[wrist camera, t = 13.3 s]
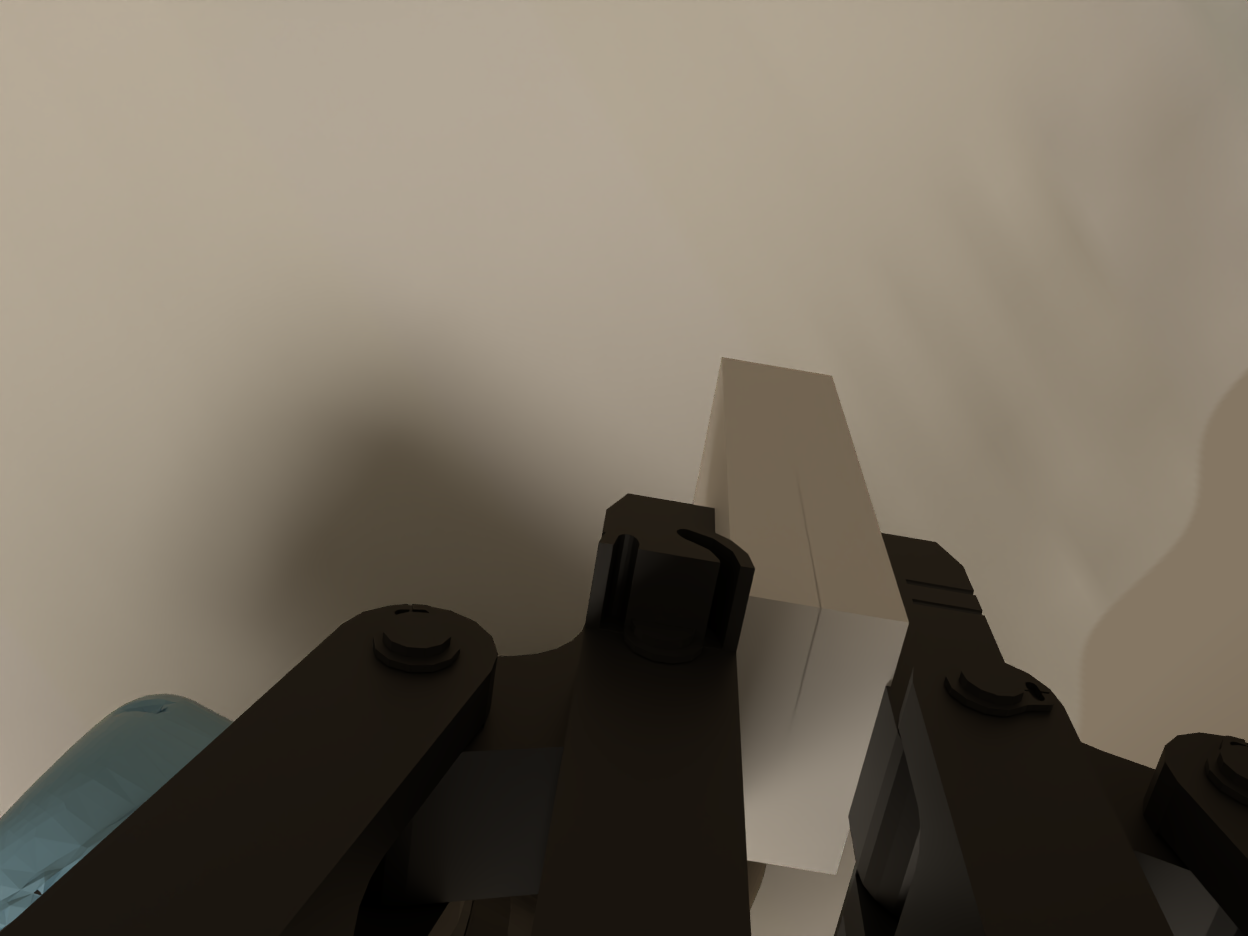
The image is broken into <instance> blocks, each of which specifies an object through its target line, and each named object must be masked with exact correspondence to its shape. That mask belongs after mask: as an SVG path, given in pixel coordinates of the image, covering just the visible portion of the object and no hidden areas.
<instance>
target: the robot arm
mask: <svg viewBox="0 0 1248 936" xmlns="http://www.w3.org/2000/svg"><path fill="white" fill-rule="evenodd" d="M973 592H974V590H973V588H972V586H971V583H970V581H969V579H968V576H967V574H966V572H965V569H964V567H963V566H962V565H961V564H960V563H959V562H958V561H957V560H955V559H954V558H953V557H952V556H951V555H950V554H949V553H948V552H946V551H945V550H944V549H943V548H942V547H941V546H940V545H939V544H938V543H936V542H932V541H926V540H920V539H914V538H908V537H902V536H897V535H891V534H885V533H881V531H880V528H879V525H878V522H877V519H876V515H875V512H874V509H873V506H872V503H871V499H870V496H869V493H868V490H867V487H866V483H865V480H864V477H863V474H862V471H861V467H860V464H859V461H858V458H857V455H856V451H855V448H854V445H853V442H852V439H851V435H850V432H849V429H848V426H847V423H846V419H845V416H844V413H843V410H842V407H841V403H840V400H839V397H838V394H837V391H836V387H835V384H834V381H833V378H832V376H830V375H824V374H818V373H812V372H806V371H800V370H794V369H788V368H782V367H776V366H771V365H765V364H759V363H753V362H747V361H741V360H735V359H729V358H723V357H722V359H721V364H720V369H719V375H718V380H717V385H716V390H715V395H714V400H713V405H712V410H711V415H710V420H709V425H708V430H707V435H706V440H705V445H704V450H703V455H702V460H701V465H700V470H699V476H698V481H697V486H696V491H695V496H694V501H693V504H687V503H681V502H675V501H669V500H663V499H657V498H652V497H646V496H640V495H634V494H627V495H626V496H624V497H623V498H622V499H620V500H619V501H618V502H616V503H615V504H614V505H612V506H611V507H609V508H608V509H607V510H606V516H605V522H604V527H603V533H602V538H601V540H600V541H599V545H598V551H597V557H596V563H595V569H594V575H593V581H592V587H591V593H590V599H589V605H588V611H587V617H586V623H585V626H584V628H583V630H582V632H581V633H580V634H579V635H578V636H577V637H576V638H574V639H573V640H572V641H571V642H569V643H567V644H565V645H563V646H561V647H559V648H557V649H554V650H550V651H546V652H543V653H539V654H532V655H522V656H502V657H497V656H498V653H497V650H496V647H495V644H494V641H493V638H492V636H491V635H489V634H488V633H487V632H486V631H485V630H484V629H483V628H482V627H481V626H479V625H478V624H477V623H476V622H475V621H473V620H470V619H468V618H466V617H463V616H461V615H459V614H457V613H454V612H452V611H449V610H444V609H439V608H433V607H431V606H428V605H417V604H412V605H408V604H402V605H392V606H386V607H382V608H378V609H374V610H370V611H365V612H362V613H361V614H359V615H357V616H355V617H354V618H352V619H350V620H349V621H347V622H345V623H343V624H342V625H341V626H340V627H339V628H337V629H336V630H335V631H334V632H333V633H332V634H331V635H330V636H329V637H327V638H326V639H325V640H324V641H323V642H322V643H321V644H320V645H319V646H318V647H316V648H315V649H314V650H313V651H312V652H311V653H310V654H309V655H308V656H306V657H305V658H304V659H303V660H302V661H301V662H300V663H299V664H298V665H296V666H295V667H294V668H293V669H292V670H291V671H290V672H289V673H288V674H286V675H285V676H284V677H283V678H282V679H281V680H280V681H279V682H278V683H276V684H275V685H274V686H273V687H272V688H271V689H270V690H269V691H268V692H266V693H265V694H264V695H263V696H262V697H261V698H260V699H259V700H258V701H256V702H255V703H254V704H253V705H252V706H251V707H250V708H249V709H248V710H246V711H245V712H244V713H243V714H242V715H241V716H240V717H239V718H238V719H236V720H235V721H234V722H233V721H231V720H229V719H227V718H225V717H223V716H221V715H219V714H217V713H215V712H214V711H212V710H210V709H208V708H206V707H204V706H203V705H201V704H199V703H197V702H195V701H193V700H191V699H188V698H186V697H182V696H178V695H172V694H156V695H148V696H144V697H141V698H138V699H136V700H133V701H131V702H129V703H126V704H124V705H123V706H121V707H119V708H118V709H116V710H115V711H113V712H112V713H111V714H109V715H108V716H107V717H105V718H104V719H103V720H102V721H100V722H99V723H98V724H97V725H95V726H94V727H93V728H92V729H91V730H90V731H89V732H87V733H86V734H85V735H84V736H83V737H82V738H81V739H80V740H79V741H77V742H76V743H75V744H74V745H73V746H72V747H71V748H70V749H69V750H68V751H67V752H66V753H65V754H64V755H63V756H62V757H61V758H60V759H58V760H57V761H56V762H55V763H54V764H53V765H52V766H51V767H50V768H49V769H48V770H47V771H46V772H45V773H44V774H43V775H42V776H41V777H40V778H39V779H38V780H37V781H36V782H35V783H34V784H33V785H32V786H31V787H30V788H29V789H28V790H27V791H26V792H25V793H24V794H23V795H22V796H21V797H20V798H19V799H18V801H17V802H16V803H15V804H14V805H13V806H12V807H11V808H10V809H9V810H8V811H7V812H6V813H5V814H4V815H3V816H2V817H1V818H0V936H751V925H750V909H751V907H752V904H753V902H754V900H755V897H756V895H757V892H758V890H759V888H760V885H761V883H762V879H763V876H764V872H765V868H766V864H772V865H778V866H784V867H790V868H796V869H802V870H808V871H814V872H820V873H826V874H832V875H836V874H837V870H838V867H839V863H840V860H841V856H842V853H843V849H844V846H845V842H846V839H847V836H848V832H849V829H850V831H851V837H852V842H853V848H854V854H855V860H856V863H855V866H854V870H853V873H852V876H851V880H850V883H849V887H848V890H847V893H846V897H845V900H844V904H843V907H842V910H841V914H840V917H839V920H838V924H837V927H836V931H835V934H834V936H1248V743H1246V742H1245V740H1244V739H1239V738H1236V737H1232V736H1220V735H1214V734H1207V733H1192V734H1186V735H1178V736H1176V737H1175V738H1174V739H1173V740H1171V741H1170V742H1169V743H1168V744H1167V745H1165V747H1164V750H1163V752H1162V754H1161V757H1160V759H1159V762H1158V764H1157V767H1156V769H1152V768H1149V767H1147V766H1144V765H1141V764H1138V763H1135V762H1132V761H1129V760H1127V759H1124V758H1121V757H1118V756H1115V755H1112V754H1109V753H1107V752H1104V751H1101V750H1099V749H1096V748H1094V747H1092V746H1089V745H1087V744H1084V743H1082V742H1081V741H1080V739H1079V737H1078V735H1077V733H1076V731H1075V729H1074V727H1073V725H1072V723H1071V721H1070V718H1069V716H1068V714H1067V712H1066V710H1065V708H1064V706H1063V705H1062V704H1061V702H1060V701H1059V700H1058V699H1057V697H1056V696H1055V695H1054V694H1053V692H1052V691H1051V690H1050V689H1049V688H1048V687H1046V686H1045V685H1043V684H1042V683H1041V682H1039V681H1038V680H1037V679H1035V678H1034V677H1032V676H1031V675H1030V674H1028V673H1026V672H1024V671H1022V670H1020V669H1017V668H1015V667H1013V666H1011V665H1009V664H1007V663H1005V662H1004V660H1003V657H1002V655H1001V653H1000V650H999V648H998V646H997V643H996V641H995V639H994V636H993V634H992V632H991V629H990V627H989V625H988V623H987V620H986V618H985V616H984V615H982V609H981V606H980V604H979V602H978V599H977V597H976V595H973Z"/></svg>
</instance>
